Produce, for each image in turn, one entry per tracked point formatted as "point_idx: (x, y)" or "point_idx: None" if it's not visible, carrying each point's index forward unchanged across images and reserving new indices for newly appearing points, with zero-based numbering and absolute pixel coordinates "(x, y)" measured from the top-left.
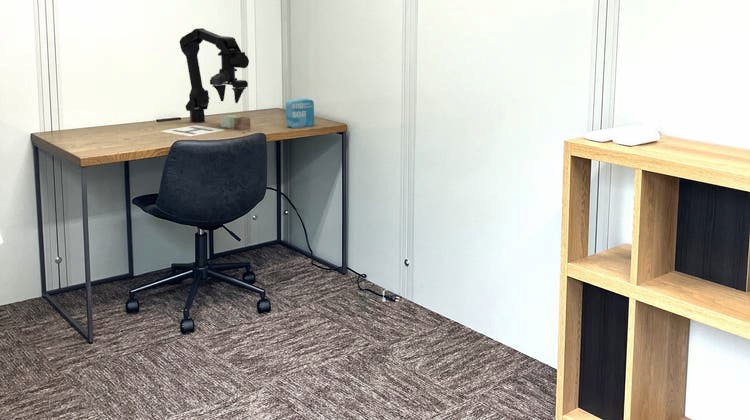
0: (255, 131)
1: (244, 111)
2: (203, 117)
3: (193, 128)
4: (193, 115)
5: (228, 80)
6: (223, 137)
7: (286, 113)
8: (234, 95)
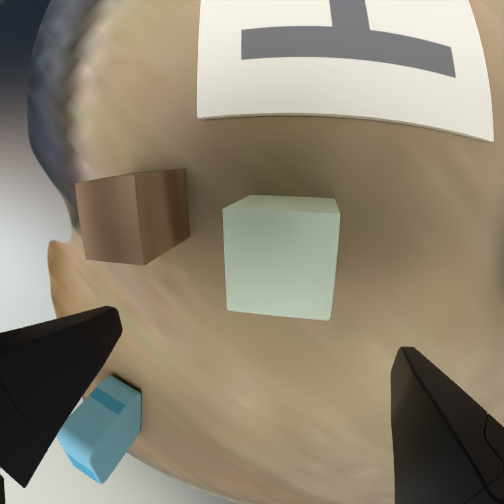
0: None
1: None
2: None
3: (411, 36)
4: None
5: None
6: (116, 38)
7: (110, 419)
8: (31, 340)
